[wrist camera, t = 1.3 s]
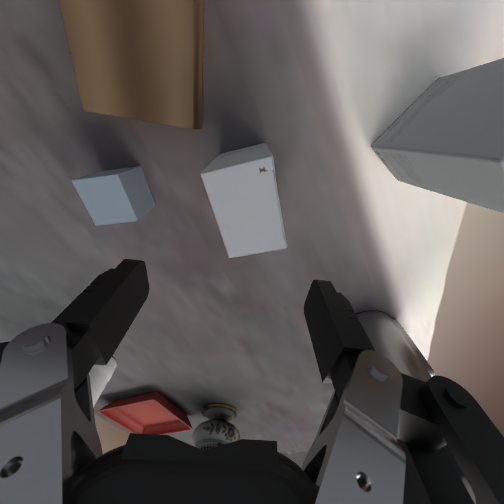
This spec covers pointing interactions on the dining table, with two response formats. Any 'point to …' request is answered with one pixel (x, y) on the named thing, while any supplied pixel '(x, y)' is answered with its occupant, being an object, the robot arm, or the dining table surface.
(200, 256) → the dining table surface
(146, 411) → the plant saucer
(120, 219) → the blue-grey cube
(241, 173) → the small box
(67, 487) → the robot arm
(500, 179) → the skincare box
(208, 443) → the apothecary jar
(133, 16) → the walnut slab
